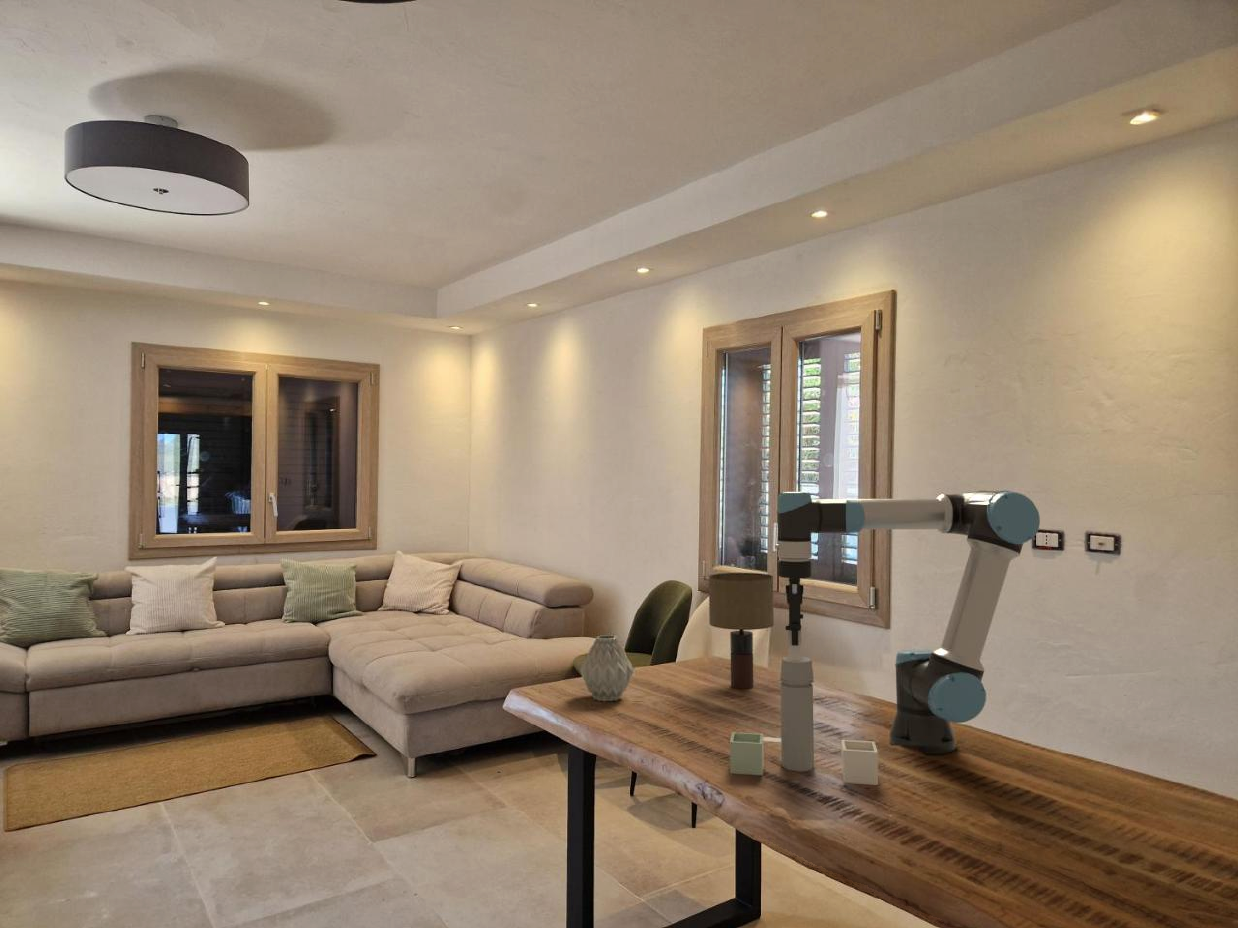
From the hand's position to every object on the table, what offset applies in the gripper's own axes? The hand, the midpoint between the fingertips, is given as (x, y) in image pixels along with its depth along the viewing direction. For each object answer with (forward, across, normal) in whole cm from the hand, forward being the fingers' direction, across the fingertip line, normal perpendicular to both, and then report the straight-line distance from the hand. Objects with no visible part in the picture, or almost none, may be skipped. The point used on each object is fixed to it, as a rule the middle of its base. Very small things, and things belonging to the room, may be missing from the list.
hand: (794, 653), depth 182 cm
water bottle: (+26, 0, 0) cm, 26 cm away
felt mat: (+26, -13, -8) cm, 30 cm away
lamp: (+26, -71, -16) cm, 78 cm away
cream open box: (+26, +6, +14) cm, 30 cm away
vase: (+27, -50, -56) cm, 79 cm away
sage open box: (+26, +5, -10) cm, 29 cm away
